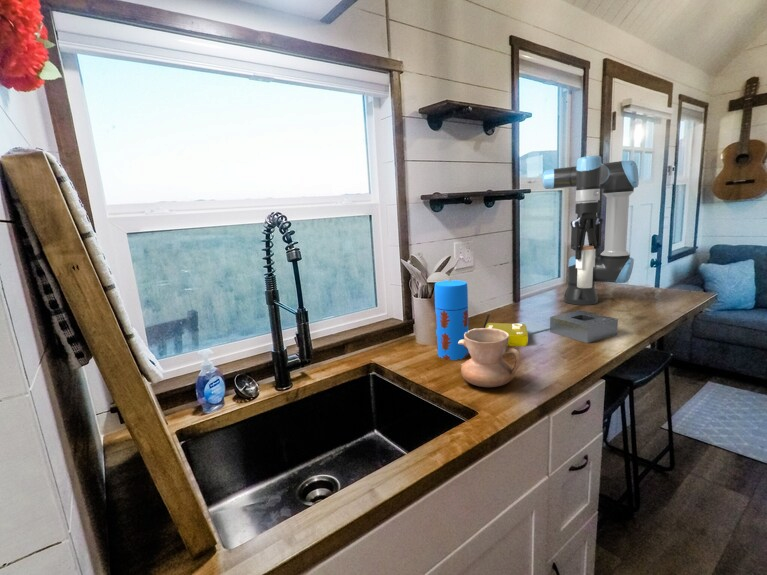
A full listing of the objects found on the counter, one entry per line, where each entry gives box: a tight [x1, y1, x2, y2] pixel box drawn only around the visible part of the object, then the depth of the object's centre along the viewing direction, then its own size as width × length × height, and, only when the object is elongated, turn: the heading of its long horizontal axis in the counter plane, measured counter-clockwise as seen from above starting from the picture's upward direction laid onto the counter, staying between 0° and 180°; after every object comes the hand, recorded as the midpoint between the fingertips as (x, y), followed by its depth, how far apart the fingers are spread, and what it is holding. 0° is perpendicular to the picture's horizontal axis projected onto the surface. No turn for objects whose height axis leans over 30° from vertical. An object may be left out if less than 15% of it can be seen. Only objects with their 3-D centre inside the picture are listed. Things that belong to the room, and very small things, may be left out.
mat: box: [516, 320, 550, 336], centre depth 153 cm, size 12×12×1 cm
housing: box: [549, 309, 619, 344], centre depth 143 cm, size 16×16×6 cm
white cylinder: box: [577, 244, 594, 288], centre depth 138 cm, size 5×5×15 cm
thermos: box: [434, 279, 469, 361], centre depth 129 cm, size 11×11×25 cm
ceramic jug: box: [458, 327, 522, 388], centre depth 107 cm, size 18×14×14 cm
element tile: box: [485, 322, 529, 347], centre depth 142 cm, size 15×15×5 cm
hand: (585, 267), depth 138 cm, fingers closed on white cylinder, 5 cm apart
